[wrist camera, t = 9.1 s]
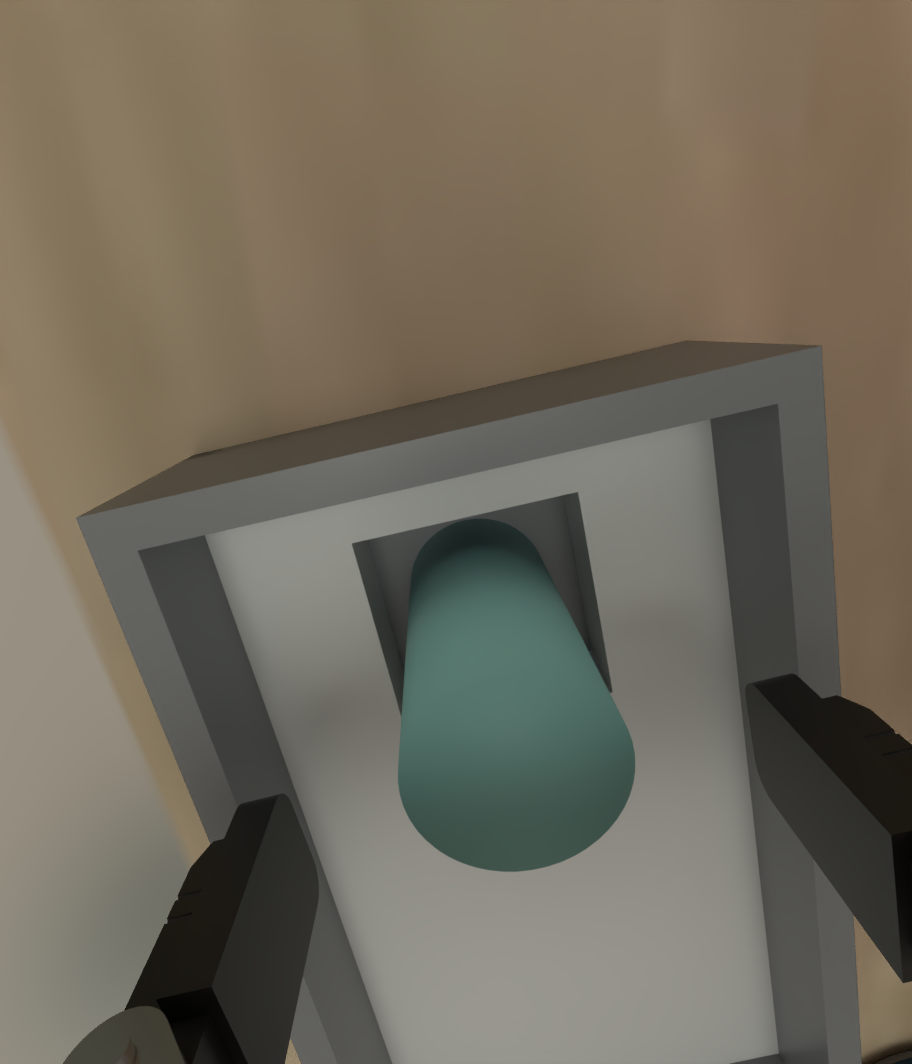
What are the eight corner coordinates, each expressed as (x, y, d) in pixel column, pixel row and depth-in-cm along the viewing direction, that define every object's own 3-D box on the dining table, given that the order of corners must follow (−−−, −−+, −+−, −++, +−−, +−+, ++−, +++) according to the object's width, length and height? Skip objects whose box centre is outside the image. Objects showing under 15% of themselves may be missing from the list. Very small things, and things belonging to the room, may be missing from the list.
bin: (686, 340, 17) (821, 346, 11) (759, 975, 23) (868, 1186, 18) (193, 455, 17) (76, 518, 11) (400, 1051, 24) (391, 1282, 18)
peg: (572, 567, 18) (684, 747, 10) (492, 667, 18) (538, 906, 11) (463, 491, 17) (492, 623, 9) (384, 599, 18) (350, 803, 10)
